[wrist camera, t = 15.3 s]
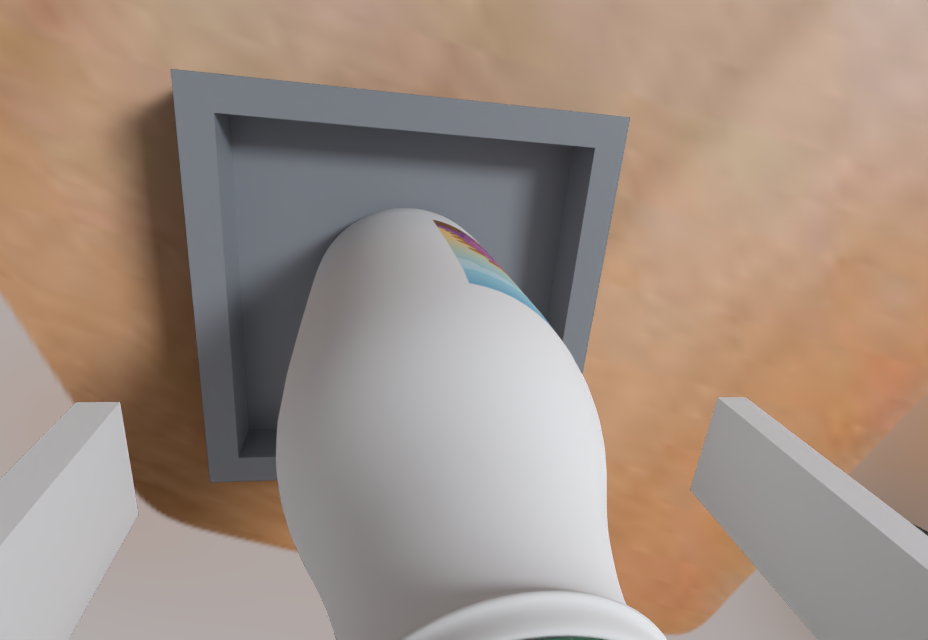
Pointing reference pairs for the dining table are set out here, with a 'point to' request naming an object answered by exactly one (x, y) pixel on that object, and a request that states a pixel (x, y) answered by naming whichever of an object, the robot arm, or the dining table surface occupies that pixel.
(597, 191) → the tray
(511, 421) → the milk bottle
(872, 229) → the dining table surface
